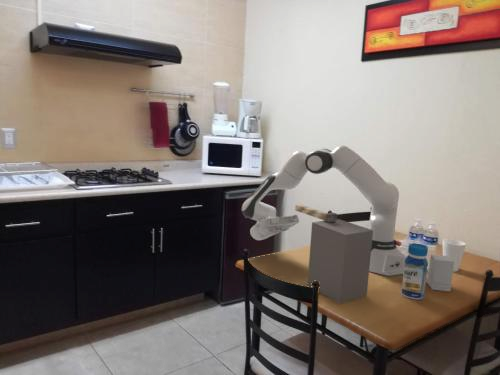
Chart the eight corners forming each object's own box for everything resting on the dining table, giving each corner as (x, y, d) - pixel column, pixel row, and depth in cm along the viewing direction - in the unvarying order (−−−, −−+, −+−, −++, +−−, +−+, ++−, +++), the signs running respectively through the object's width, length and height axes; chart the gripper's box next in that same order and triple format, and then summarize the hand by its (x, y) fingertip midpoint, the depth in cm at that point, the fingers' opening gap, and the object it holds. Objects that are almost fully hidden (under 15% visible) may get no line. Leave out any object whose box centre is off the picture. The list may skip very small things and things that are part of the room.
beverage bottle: (429, 299, 149) (435, 248, 145) (410, 301, 146) (416, 250, 143) (414, 289, 157) (419, 241, 153) (396, 291, 154) (401, 242, 151)
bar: (293, 210, 170) (294, 203, 169) (301, 209, 172) (301, 202, 171) (328, 222, 151) (329, 214, 151) (336, 221, 154) (337, 213, 153)
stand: (307, 285, 157) (312, 222, 152) (333, 279, 164) (338, 218, 160) (339, 303, 142) (345, 234, 137) (366, 296, 149) (373, 230, 145)
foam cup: (464, 269, 182) (468, 242, 180) (458, 274, 176) (462, 246, 173) (442, 263, 189) (446, 237, 186) (436, 268, 182) (440, 241, 180)
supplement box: (450, 292, 156) (454, 261, 154) (430, 289, 158) (434, 259, 156) (445, 284, 164) (449, 255, 161) (426, 282, 165) (430, 253, 163)
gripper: (252, 221, 183) (267, 212, 172) (287, 217, 194) (303, 209, 183) (255, 234, 182) (270, 226, 171) (290, 229, 192) (306, 222, 181)
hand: (287, 217), depth 177 cm, fingers open, 8 cm apart
